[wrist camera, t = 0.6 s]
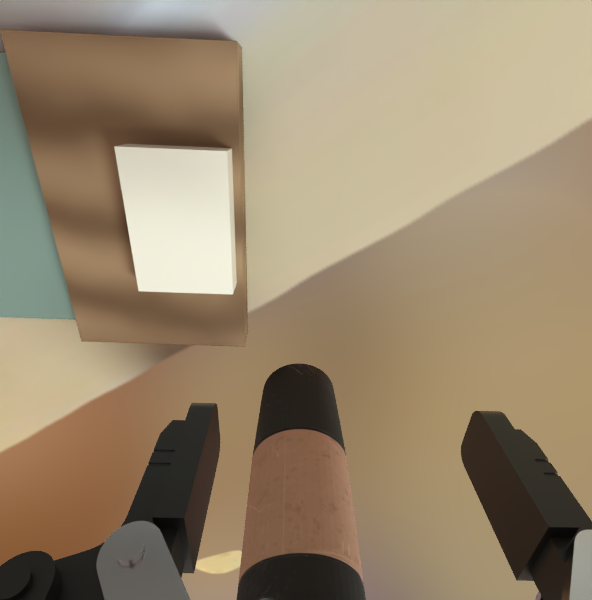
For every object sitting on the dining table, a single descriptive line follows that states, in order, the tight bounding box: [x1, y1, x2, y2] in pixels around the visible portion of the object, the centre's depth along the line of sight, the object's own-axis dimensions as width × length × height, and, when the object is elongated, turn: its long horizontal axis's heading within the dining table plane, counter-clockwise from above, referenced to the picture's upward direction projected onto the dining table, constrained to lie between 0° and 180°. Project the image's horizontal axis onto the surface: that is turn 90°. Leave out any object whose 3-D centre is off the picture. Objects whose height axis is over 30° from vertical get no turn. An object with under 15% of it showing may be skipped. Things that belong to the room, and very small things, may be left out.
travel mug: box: [237, 364, 366, 600], centre depth 29 cm, size 8×8×20 cm
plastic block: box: [114, 144, 237, 295], centre depth 26 cm, size 10×7×2 cm
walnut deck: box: [0, 30, 248, 346], centre depth 28 cm, size 22×14×2 cm, turn 178°
